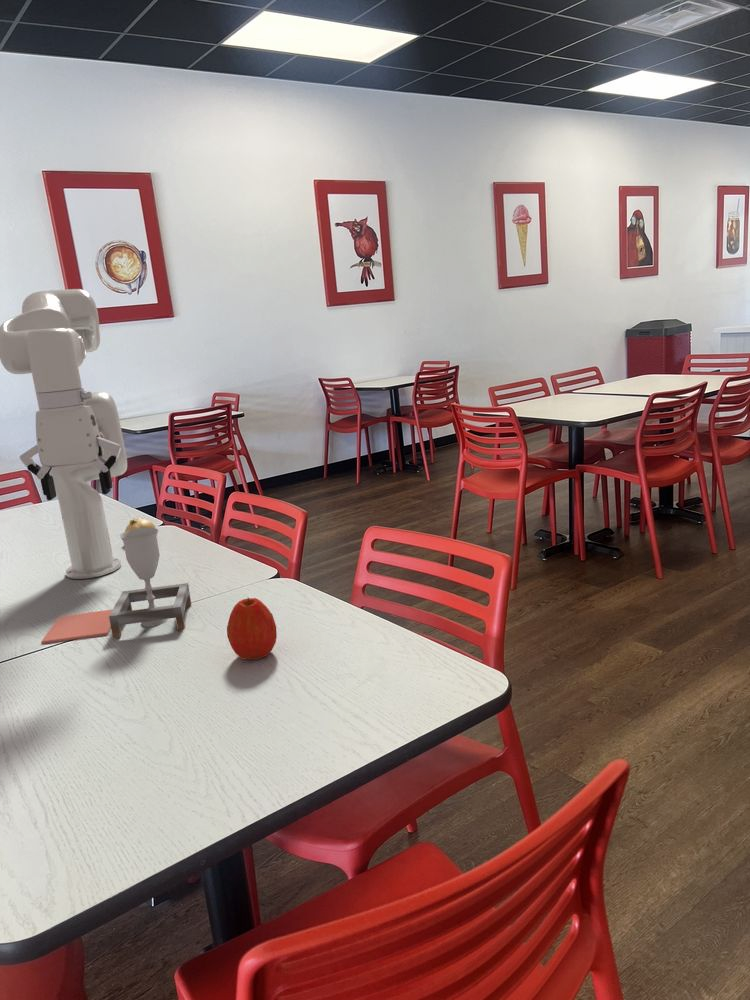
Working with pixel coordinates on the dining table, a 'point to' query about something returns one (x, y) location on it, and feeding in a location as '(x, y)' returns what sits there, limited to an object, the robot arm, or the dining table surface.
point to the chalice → (143, 559)
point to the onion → (139, 524)
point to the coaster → (79, 626)
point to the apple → (251, 629)
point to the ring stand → (126, 615)
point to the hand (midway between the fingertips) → (79, 495)
